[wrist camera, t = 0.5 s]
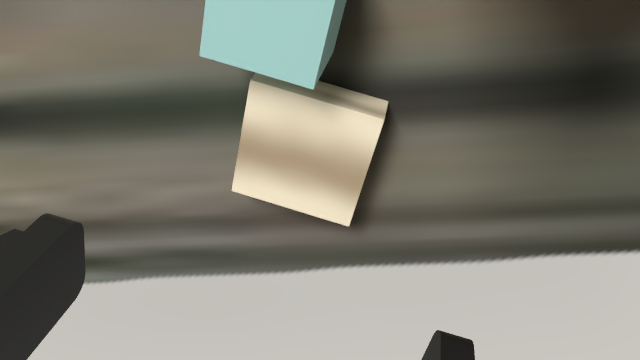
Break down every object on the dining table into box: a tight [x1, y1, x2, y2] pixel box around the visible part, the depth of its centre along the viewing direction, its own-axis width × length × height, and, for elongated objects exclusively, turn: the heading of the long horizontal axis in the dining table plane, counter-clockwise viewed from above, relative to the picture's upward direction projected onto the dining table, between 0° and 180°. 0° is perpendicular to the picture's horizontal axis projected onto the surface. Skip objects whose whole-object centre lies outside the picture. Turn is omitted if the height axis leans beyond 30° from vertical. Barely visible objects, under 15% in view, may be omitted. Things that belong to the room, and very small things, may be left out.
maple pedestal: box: [232, 73, 388, 227], centre depth 34 cm, size 8×8×3 cm
